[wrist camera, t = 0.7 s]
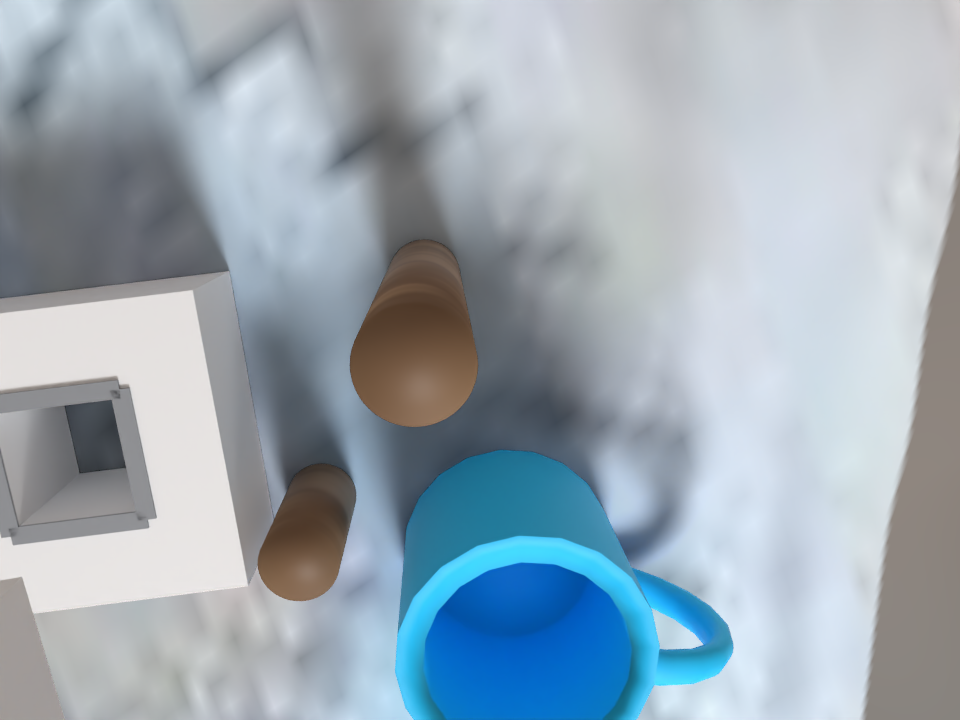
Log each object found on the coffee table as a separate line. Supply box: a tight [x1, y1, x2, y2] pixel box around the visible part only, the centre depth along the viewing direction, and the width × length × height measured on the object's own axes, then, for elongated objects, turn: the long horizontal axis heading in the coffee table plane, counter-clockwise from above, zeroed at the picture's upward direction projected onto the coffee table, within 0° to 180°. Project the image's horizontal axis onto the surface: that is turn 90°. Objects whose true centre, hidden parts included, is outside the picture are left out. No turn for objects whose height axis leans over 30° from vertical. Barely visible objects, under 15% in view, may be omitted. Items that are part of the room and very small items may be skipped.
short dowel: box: [258, 464, 356, 601], centre depth 32 cm, size 3×3×6 cm
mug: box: [395, 450, 733, 720], centre depth 32 cm, size 12×8×8 cm
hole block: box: [0, 271, 274, 614], centre depth 31 cm, size 10×10×5 cm
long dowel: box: [350, 239, 478, 427], centre depth 25 cm, size 3×3×15 cm
